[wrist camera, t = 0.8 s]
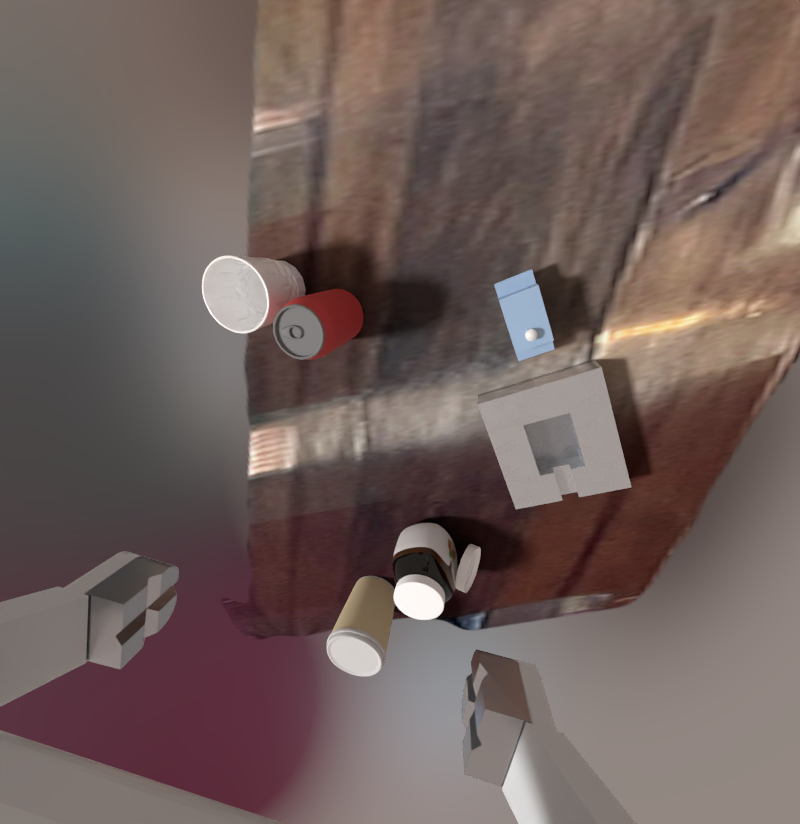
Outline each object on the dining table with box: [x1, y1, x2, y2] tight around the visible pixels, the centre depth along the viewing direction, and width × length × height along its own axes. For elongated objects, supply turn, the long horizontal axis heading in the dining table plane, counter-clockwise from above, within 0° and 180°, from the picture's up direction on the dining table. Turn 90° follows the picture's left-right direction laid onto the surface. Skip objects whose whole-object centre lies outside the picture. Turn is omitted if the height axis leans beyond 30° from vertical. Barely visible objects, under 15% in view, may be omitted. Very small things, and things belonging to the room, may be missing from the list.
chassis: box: [478, 360, 631, 509], centre depth 46 cm, size 14×16×3 cm
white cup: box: [202, 256, 306, 333], centre depth 44 cm, size 8×8×10 cm
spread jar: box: [393, 522, 481, 620], centre depth 53 cm, size 12×11×12 cm
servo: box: [494, 269, 555, 361], centre depth 40 cm, size 4×9×6 cm, turn 23°
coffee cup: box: [327, 576, 395, 676], centre depth 61 cm, size 9×9×12 cm
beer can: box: [273, 288, 364, 360], centre depth 42 cm, size 7×7×12 cm
